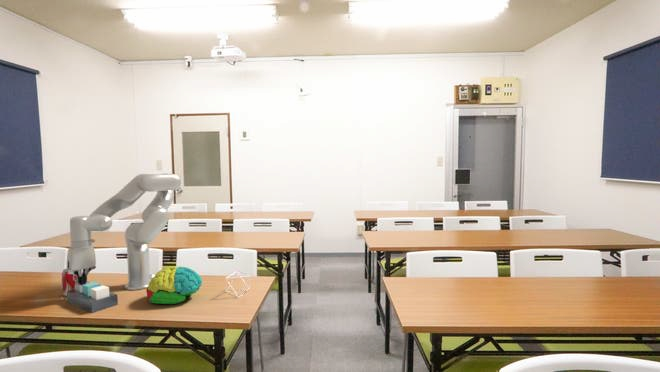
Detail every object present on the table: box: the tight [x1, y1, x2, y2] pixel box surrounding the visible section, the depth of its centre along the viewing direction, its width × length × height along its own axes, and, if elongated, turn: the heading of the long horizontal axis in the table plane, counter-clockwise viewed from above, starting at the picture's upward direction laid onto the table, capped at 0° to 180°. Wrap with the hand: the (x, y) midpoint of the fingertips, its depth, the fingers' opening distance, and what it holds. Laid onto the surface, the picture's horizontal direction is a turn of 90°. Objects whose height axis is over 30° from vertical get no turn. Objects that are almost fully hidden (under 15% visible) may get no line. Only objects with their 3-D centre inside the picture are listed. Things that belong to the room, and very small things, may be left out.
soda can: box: [61, 268, 79, 297], centre depth 162 cm, size 7×7×12 cm
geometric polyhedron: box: [225, 270, 251, 299], centre depth 162 cm, size 12×11×9 cm
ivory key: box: [91, 285, 110, 300], centre depth 147 cm, size 5×5×5 cm
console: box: [66, 289, 119, 314], centre depth 151 cm, size 10×23×5 cm, turn 58°
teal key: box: [82, 281, 102, 297], centre depth 151 cm, size 5×5×5 cm
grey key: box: [75, 280, 91, 293], centre depth 155 cm, size 5×5×5 cm
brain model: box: [145, 265, 203, 305], centre depth 155 cm, size 24×19×15 cm
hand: (82, 284), depth 155 cm, fingers closed
